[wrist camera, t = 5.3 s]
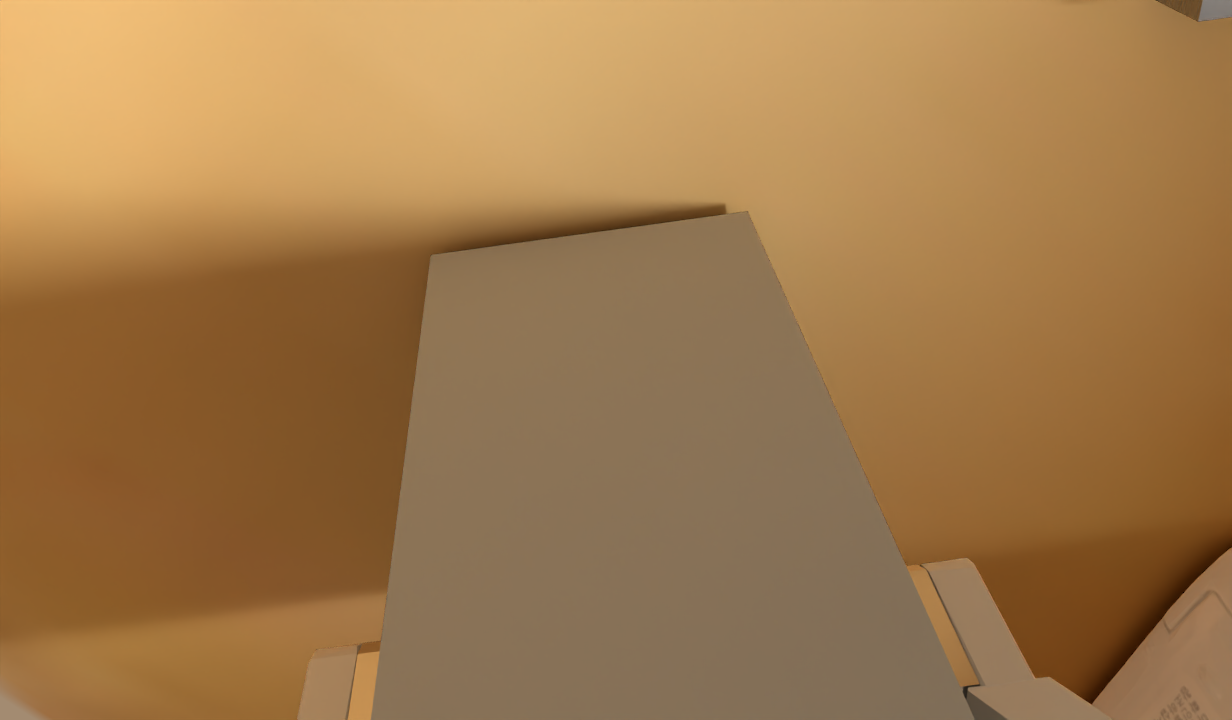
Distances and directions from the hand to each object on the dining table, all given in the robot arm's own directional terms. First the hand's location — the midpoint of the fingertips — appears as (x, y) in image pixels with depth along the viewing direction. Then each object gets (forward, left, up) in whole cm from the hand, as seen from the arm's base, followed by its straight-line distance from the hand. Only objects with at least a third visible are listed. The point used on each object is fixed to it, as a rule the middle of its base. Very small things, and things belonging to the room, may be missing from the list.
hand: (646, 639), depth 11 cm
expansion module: (0, 0, -4) cm, 4 cm away
